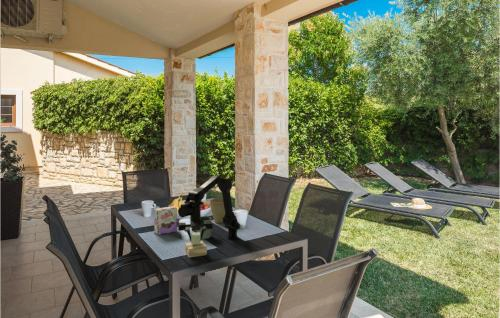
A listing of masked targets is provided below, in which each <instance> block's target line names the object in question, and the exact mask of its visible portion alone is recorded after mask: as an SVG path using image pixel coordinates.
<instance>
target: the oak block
mask: <svg viewBox="0 0 500 318" xmlns="http://www.w3.org/2000/svg"><path fill="white" fill-rule="evenodd" d="M184 251H185V252H184V253H186V255H187V257H188V258H195V257H202V256H207V255H208V246H207V245H206V244H205V242H204V240H201V244H191V241H190V242H185V243H184Z"/></svg>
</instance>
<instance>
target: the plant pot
mask: <svg viewBox="0 0 500 318" xmlns="http://www.w3.org/2000/svg"><path fill="white" fill-rule="evenodd" d="M209 204H210V205H209V206H210V212H211V214H212V218H213V221H214V223H215V224H216V223H217V224H224V223H223V219H222V218H223V217H224V216H225V209H224V202H223V197H221V198H220V197H219V198H212V199H209Z"/></svg>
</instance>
